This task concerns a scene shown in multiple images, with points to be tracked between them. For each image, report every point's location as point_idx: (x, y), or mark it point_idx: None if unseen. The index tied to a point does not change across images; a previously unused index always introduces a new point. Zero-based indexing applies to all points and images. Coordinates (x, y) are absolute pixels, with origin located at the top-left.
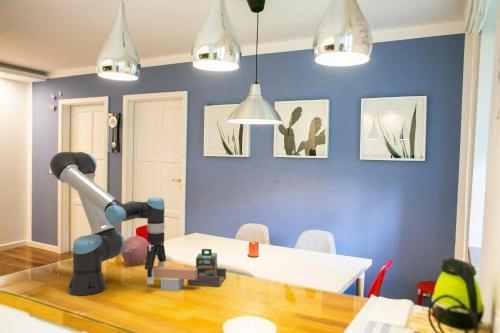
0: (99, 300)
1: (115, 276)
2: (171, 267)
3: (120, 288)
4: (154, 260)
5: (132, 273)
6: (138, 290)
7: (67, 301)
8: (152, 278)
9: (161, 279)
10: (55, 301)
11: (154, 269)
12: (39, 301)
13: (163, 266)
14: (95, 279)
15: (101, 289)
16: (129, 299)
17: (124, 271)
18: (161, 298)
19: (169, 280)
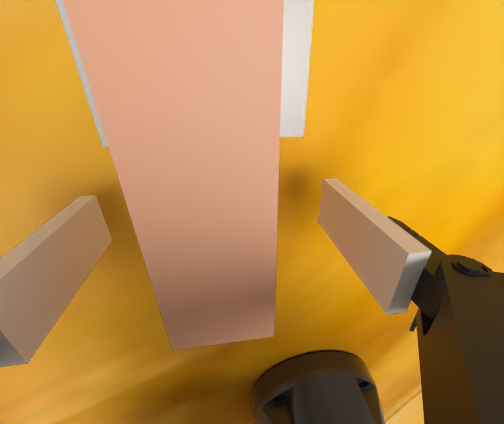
0: (416, 312)
1: (134, 403)
2: (128, 15)
3: (277, 322)
4: (481, 399)
5: (53, 384)
6: (294, 247)
7: (410, 370)
8: (360, 202)
9: (303, 128)
10: (406, 388)
11: (273, 268)
12: (401, 407)
13: (132, 216)
14: (367, 419)
15: (331, 359)
16: (423, 224)
17: (49, 414)
18: (440, 40)
19: (308, 18)
